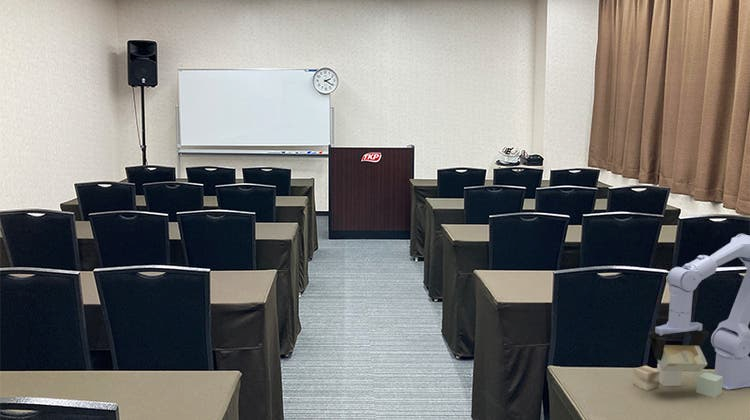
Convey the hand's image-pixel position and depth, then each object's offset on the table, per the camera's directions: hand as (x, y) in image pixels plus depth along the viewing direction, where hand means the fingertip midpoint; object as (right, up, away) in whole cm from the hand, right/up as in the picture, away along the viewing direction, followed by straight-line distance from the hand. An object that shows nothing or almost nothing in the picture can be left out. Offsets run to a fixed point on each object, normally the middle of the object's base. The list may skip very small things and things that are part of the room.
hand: (676, 356), depth 202 cm
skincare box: (+7, 0, 0) cm, 7 cm away
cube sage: (+10, -11, +1) cm, 14 cm away
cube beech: (-7, -10, +6) cm, 13 cm away
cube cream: (+1, -9, +8) cm, 12 cm away
